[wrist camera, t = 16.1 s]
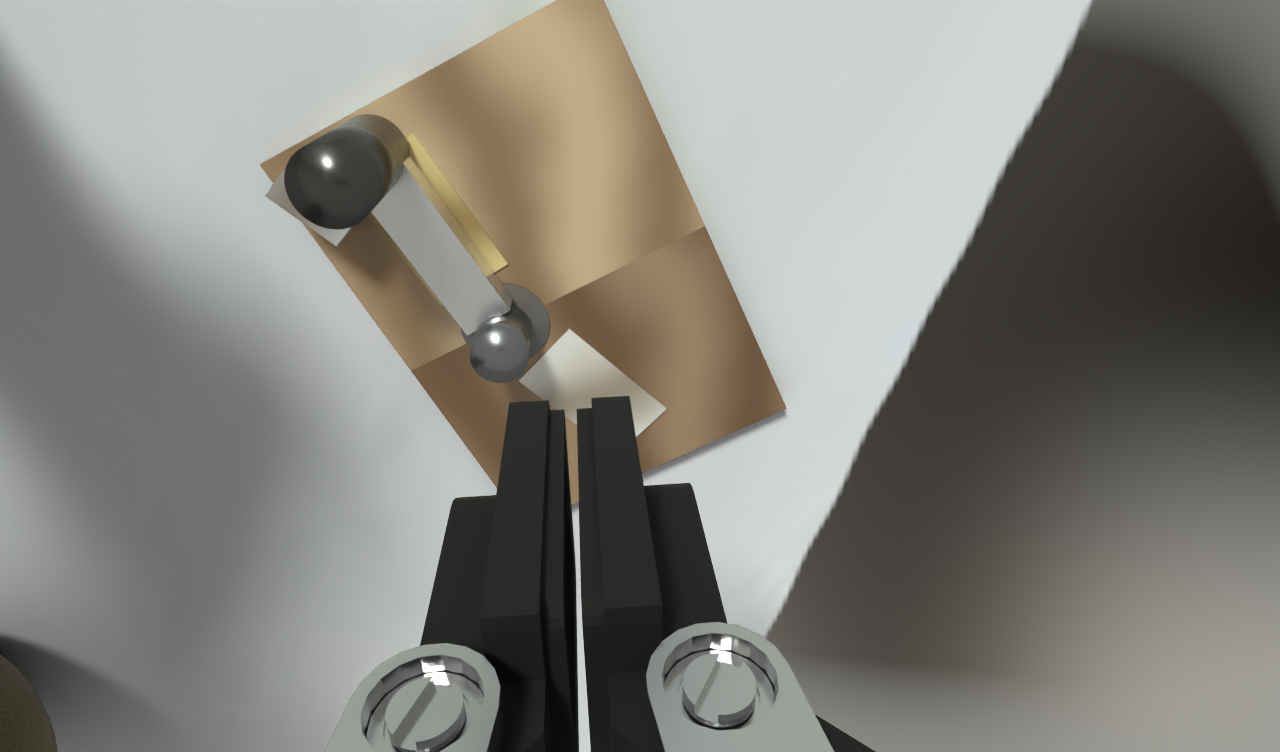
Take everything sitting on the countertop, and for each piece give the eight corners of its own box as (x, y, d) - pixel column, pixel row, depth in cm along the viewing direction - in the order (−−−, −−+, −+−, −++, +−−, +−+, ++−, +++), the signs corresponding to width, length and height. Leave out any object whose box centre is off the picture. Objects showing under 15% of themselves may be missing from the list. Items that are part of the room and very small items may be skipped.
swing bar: (545, 333, 33) (541, 398, 28) (494, 362, 34) (480, 432, 28) (378, 99, 28) (335, 125, 23) (320, 138, 28) (265, 171, 23)
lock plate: (525, 516, 39) (522, 556, 36) (266, 160, 30) (235, 178, 27) (782, 400, 37) (800, 433, 35) (593, -20, 28) (596, -22, 25)
